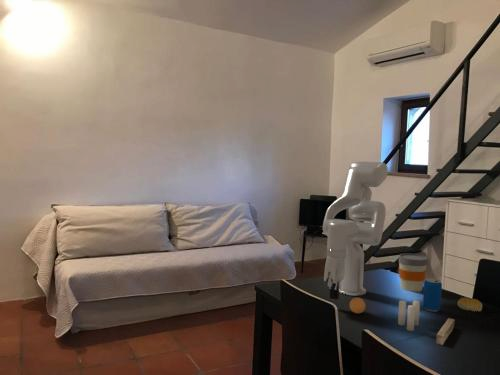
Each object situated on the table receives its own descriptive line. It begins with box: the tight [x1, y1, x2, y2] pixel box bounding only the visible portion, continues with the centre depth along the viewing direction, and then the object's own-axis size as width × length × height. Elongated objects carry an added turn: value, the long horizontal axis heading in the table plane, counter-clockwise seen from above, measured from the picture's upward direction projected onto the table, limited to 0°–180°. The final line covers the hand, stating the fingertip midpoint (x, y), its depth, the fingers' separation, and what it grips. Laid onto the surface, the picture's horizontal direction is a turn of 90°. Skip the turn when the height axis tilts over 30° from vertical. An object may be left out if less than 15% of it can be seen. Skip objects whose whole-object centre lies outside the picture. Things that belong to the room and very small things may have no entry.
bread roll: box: [457, 297, 483, 312], centre depth 176 cm, size 8×9×4 cm
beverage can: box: [422, 277, 443, 313], centre depth 173 cm, size 6×6×12 cm
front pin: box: [397, 299, 407, 326], centre depth 158 cm, size 2×2×8 cm
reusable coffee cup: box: [398, 252, 428, 293], centre depth 199 cm, size 13×13×15 cm
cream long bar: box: [435, 317, 455, 346], centre depth 149 cm, size 2×18×3 cm, turn 144°
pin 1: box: [406, 304, 415, 332], centre depth 153 cm, size 2×2×8 cm
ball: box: [349, 297, 366, 314], centre depth 168 cm, size 6×6×6 cm
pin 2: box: [412, 300, 421, 327], centre depth 158 cm, size 2×2×8 cm
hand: (334, 298), depth 172 cm, fingers closed
